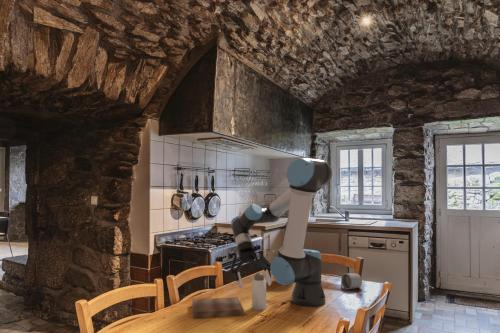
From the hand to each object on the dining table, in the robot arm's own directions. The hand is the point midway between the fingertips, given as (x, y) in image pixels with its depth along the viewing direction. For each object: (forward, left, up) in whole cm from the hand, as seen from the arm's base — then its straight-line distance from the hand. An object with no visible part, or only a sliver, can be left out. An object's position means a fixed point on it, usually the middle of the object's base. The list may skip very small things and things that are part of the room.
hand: (255, 285), depth 155 cm
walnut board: (+17, +2, -9) cm, 19 cm away
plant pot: (-25, -39, -9) cm, 47 cm away
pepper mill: (-1, +2, -9) cm, 9 cm away
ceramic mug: (-54, -20, -9) cm, 58 cm away
